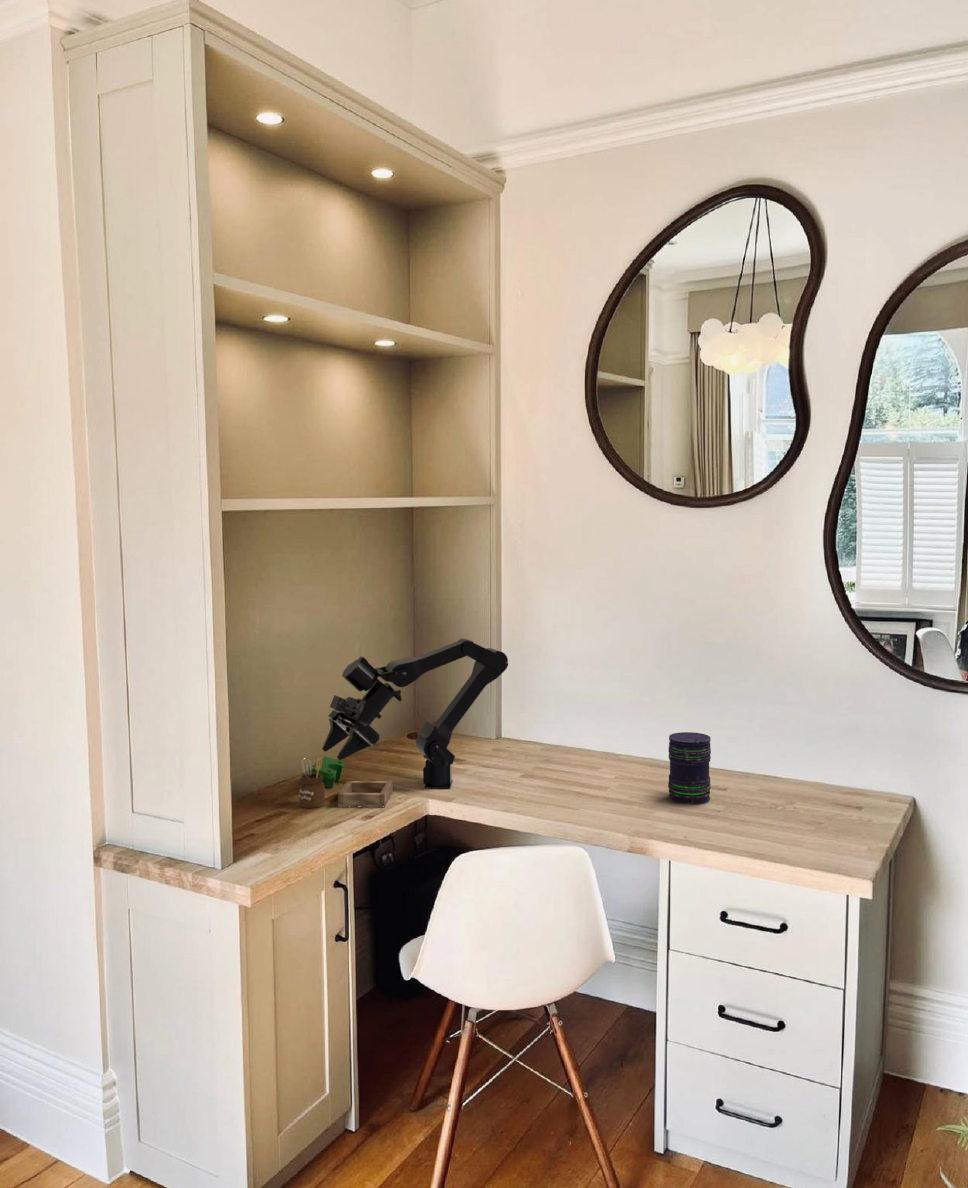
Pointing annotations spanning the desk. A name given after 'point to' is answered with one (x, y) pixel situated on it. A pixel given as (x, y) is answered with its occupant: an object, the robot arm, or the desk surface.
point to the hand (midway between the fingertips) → (330, 754)
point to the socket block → (365, 794)
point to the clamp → (329, 770)
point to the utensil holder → (312, 788)
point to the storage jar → (689, 768)
